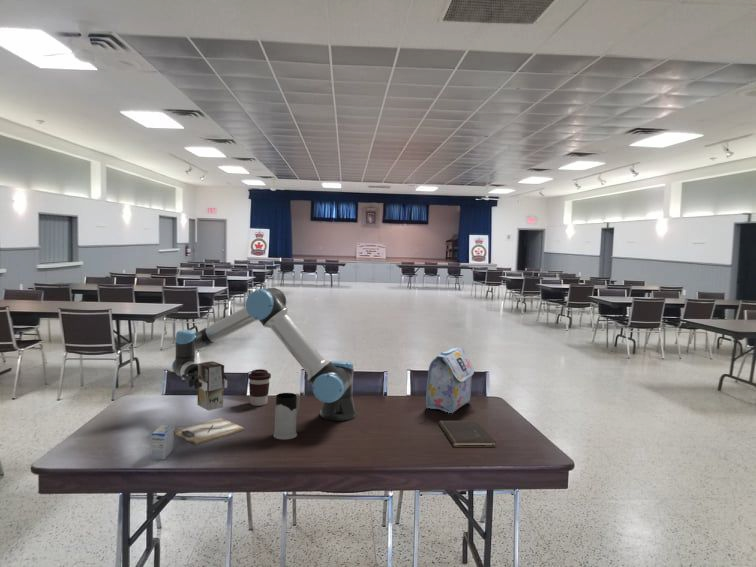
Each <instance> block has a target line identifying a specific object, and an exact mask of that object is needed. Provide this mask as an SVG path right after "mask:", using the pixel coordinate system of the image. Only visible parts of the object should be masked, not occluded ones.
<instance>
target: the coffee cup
mask: <svg viewBox="0 0 756 567" xmlns="http://www.w3.org/2000/svg"><path fill="white" fill-rule="evenodd" d="M271 375H272V374H271V373H270V372H268V370H267V369H262V368H259V369H253V370H251V371H250V373H248V374H247V378H248V380H249V382H248V389H249V390H248V391H249V399H250V401H249V402H250V405H251V406H255V407H259V406H265V405H267V404H268V398H269V397H268V396H269V390H270V379H271V378H272V376H271Z"/></svg>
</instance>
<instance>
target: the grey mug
mask: <svg viewBox="0 0 756 567" xmlns="http://www.w3.org/2000/svg"><path fill="white" fill-rule="evenodd" d="M300 404H301V396H300V394H299V393H292V392H281V393H277V394H276V396H275V407H274V408H275V409H274V410H275V412H274V433H273V434H272V435H273V437H274V439H277V440H291V439H294V438H296V437H297V436H298V433H297V414H298V412H299V409H300Z"/></svg>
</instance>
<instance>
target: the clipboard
mask: <svg viewBox="0 0 756 567" xmlns="http://www.w3.org/2000/svg"><path fill="white" fill-rule="evenodd" d="M245 429H246V428H245V427H243V426H241V425H238V424H236V423H234V422H232V421H229V420H226V419H224V418H222V417H220V418H215V419H211V420H208V421H205V422H202V423H201V422H200V423H196V424H193V425H189V426H185V427H182V428H178V429H174V435H176V436H178V437H180V438H182V439H184V440H186V441H187V442H190V443H192V444H194V445H199V444H203V443H206V442H210V441H212V440H216V439H219V438H223V437H226V436H229V435H232V434H236V433H239V432H243V431H245Z"/></svg>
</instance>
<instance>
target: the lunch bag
mask: <svg viewBox="0 0 756 567" xmlns="http://www.w3.org/2000/svg"><path fill="white" fill-rule="evenodd" d="M474 373H475V368H474V366H473V364H472V363H471V360H470V359H469V357H468V355H467V353H466V351H465V349H464V347H454V348H449V349H448V350H447V351H440V354H439V355H436V357H435V358H433V359H432V360H431V362H430V363H429V366H428V371H427V379H426V380H427V381H426V392H425V393H426V396H425V405H426V406H425V407H426V408H427V409H429V408H430V410H431V409H433V410H440V411H443V412H445V413H447V412H448V413H447V414H449V413H452V414H453V413H455V412H456V411H457V410H458V409H460V408H462V407H463V406H465V405H466V404H468V403H470V400H471V395H472V393H471V392H472V378H473V377H472V376H473V375H474Z"/></svg>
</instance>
